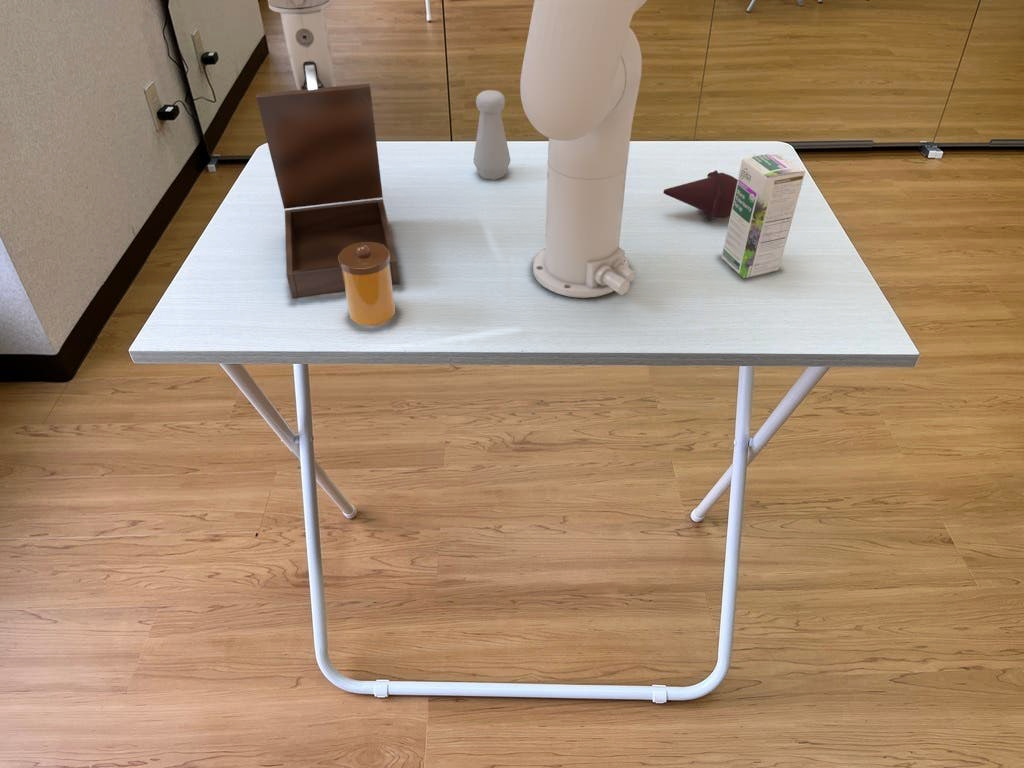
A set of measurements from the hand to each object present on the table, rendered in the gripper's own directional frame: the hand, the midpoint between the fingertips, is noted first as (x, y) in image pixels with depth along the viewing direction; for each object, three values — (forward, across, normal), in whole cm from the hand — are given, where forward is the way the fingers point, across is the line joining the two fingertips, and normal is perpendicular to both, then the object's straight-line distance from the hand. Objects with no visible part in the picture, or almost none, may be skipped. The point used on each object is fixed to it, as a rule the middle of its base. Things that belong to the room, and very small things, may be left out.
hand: (321, 127), depth 106 cm
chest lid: (0, -7, 0) cm, 7 cm away
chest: (+13, -13, 0) cm, 19 cm away
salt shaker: (+14, +8, -25) cm, 30 cm away
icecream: (+14, -13, -54) cm, 57 cm away
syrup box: (+14, -26, -53) cm, 61 cm away
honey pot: (+13, -26, -3) cm, 30 cm away
